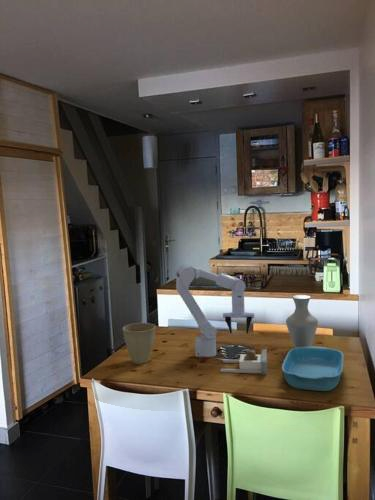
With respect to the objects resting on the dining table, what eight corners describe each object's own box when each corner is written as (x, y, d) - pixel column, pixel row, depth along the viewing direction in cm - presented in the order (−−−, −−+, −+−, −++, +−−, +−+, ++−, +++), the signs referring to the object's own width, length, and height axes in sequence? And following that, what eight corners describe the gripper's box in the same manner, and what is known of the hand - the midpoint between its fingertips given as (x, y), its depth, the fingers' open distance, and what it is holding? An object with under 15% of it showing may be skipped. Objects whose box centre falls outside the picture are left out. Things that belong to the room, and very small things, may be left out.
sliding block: (239, 371, 179) (239, 361, 179) (241, 363, 188) (240, 354, 188) (261, 371, 178) (261, 362, 177) (262, 363, 187) (261, 354, 186)
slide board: (217, 376, 178) (217, 371, 178) (221, 362, 193) (221, 357, 193) (267, 377, 174) (267, 372, 174) (267, 363, 190) (267, 358, 189)
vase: (315, 343, 213) (314, 293, 210) (321, 353, 198) (320, 299, 196) (284, 343, 214) (283, 293, 211) (288, 353, 200) (287, 300, 197)
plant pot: (146, 368, 190) (144, 333, 188) (118, 364, 196) (116, 330, 194) (163, 357, 203) (161, 323, 201) (135, 353, 209) (133, 321, 208)
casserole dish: (291, 358, 194) (291, 343, 194) (344, 363, 186) (344, 346, 186) (277, 393, 160) (277, 374, 160) (342, 400, 152) (341, 380, 152)
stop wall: (261, 375, 175) (261, 361, 174) (262, 361, 189) (261, 349, 189) (266, 375, 174) (266, 361, 174) (267, 361, 189) (266, 349, 189)
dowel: (246, 369, 181) (245, 353, 181) (246, 365, 185) (246, 349, 185) (256, 369, 181) (255, 353, 180) (256, 365, 185) (255, 349, 184)
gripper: (221, 306, 200) (222, 335, 201) (253, 306, 197) (254, 335, 199) (223, 302, 207) (224, 330, 208) (254, 302, 204) (255, 331, 205)
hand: (239, 332), depth 204 cm, fingers open, 7 cm apart
